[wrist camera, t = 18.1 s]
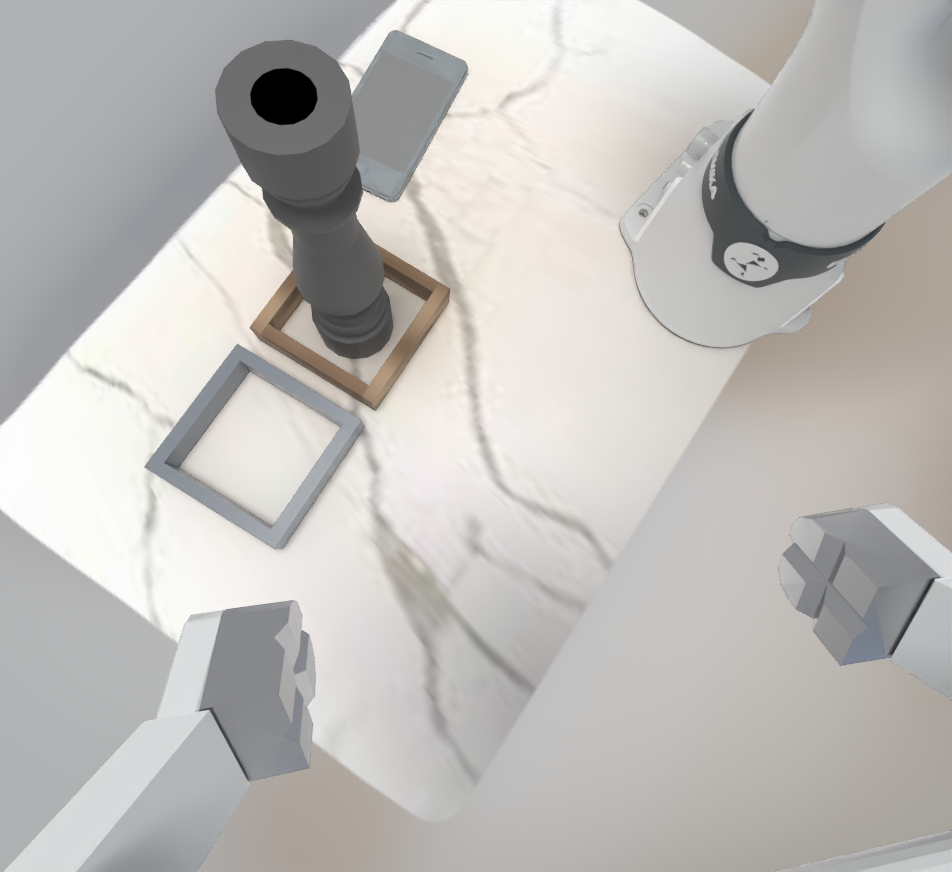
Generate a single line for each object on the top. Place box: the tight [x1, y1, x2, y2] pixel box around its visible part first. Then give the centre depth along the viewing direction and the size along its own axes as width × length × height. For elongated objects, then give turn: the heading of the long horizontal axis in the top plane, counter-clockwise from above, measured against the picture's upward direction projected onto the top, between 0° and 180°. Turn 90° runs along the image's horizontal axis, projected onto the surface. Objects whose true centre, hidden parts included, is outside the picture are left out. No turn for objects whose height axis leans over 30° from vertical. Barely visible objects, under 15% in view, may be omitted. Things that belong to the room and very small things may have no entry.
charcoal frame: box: [144, 344, 364, 549], centre depth 45 cm, size 11×11×2 cm
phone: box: [351, 30, 468, 202], centre depth 53 cm, size 8×16×1 cm, turn 155°
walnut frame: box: [250, 243, 450, 411], centre depth 48 cm, size 11×11×2 cm
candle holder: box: [216, 40, 393, 359], centre depth 37 cm, size 6×6×25 cm
